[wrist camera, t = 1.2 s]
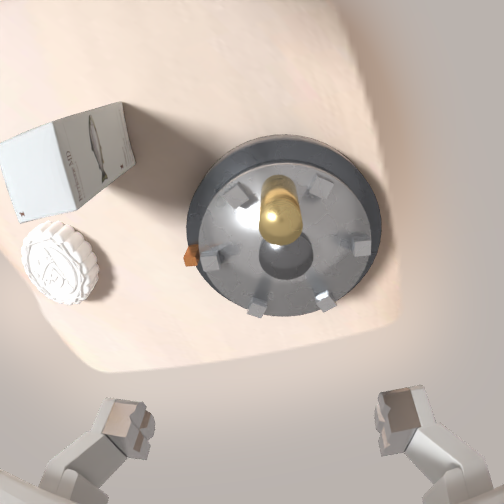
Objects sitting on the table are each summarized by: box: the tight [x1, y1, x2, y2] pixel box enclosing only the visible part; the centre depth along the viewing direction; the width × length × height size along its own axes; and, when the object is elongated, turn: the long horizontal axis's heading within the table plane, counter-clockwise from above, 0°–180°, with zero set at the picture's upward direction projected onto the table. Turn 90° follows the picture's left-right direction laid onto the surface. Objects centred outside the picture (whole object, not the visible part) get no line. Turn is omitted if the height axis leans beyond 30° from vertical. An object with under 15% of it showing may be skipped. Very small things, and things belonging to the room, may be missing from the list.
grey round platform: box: [184, 134, 381, 303], centre depth 33 cm, size 20×20×6 cm
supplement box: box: [0, 102, 136, 224], centre depth 26 cm, size 7×7×13 cm
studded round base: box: [198, 159, 371, 318], centre depth 29 cm, size 17×17×9 cm
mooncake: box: [21, 220, 99, 305], centre depth 38 cm, size 12×12×4 cm
